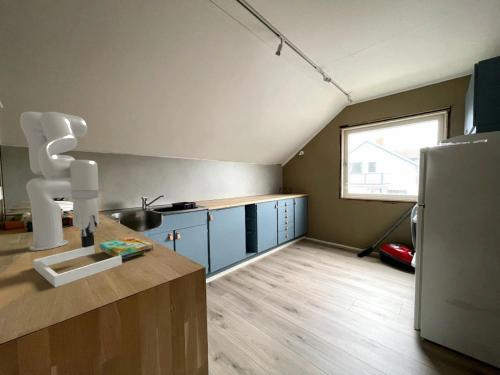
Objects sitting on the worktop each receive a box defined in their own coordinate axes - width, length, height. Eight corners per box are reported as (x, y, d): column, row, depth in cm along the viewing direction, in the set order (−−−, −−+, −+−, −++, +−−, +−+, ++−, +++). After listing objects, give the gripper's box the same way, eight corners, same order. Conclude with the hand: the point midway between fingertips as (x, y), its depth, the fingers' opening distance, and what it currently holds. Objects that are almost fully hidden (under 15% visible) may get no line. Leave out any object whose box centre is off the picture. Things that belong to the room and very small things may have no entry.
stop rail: (130, 245, 91) (130, 240, 91) (133, 244, 92) (133, 240, 92) (150, 251, 83) (150, 246, 82) (153, 250, 84) (152, 245, 83)
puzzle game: (130, 234, 91) (151, 241, 79) (130, 245, 92) (152, 253, 79) (98, 241, 82) (118, 250, 70) (99, 252, 82) (118, 264, 70)
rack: (34, 268, 69) (33, 259, 69) (93, 252, 83) (93, 245, 83) (55, 287, 56) (54, 276, 56) (121, 264, 70) (121, 255, 70)
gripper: (64, 194, 73) (67, 245, 74) (80, 197, 64) (83, 254, 66) (89, 193, 79) (92, 239, 80) (107, 195, 71) (109, 247, 72)
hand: (88, 246), depth 73 cm, fingers closed
